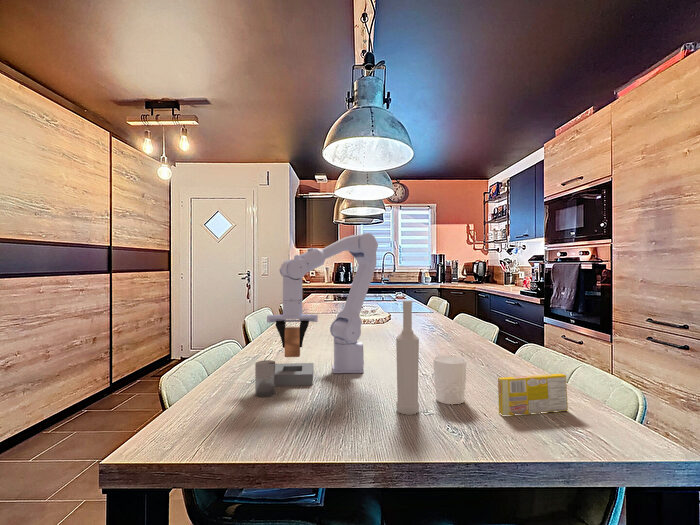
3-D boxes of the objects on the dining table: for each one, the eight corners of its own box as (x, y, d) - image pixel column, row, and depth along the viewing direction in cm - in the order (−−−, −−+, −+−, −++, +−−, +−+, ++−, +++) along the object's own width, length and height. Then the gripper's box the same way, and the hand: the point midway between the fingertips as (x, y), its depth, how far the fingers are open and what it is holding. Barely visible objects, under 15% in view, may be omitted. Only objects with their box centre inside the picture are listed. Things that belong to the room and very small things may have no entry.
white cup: (468, 397, 92) (468, 357, 92) (464, 408, 85) (464, 364, 85) (437, 392, 95) (436, 354, 95) (430, 402, 88) (430, 361, 88)
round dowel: (276, 390, 97) (276, 360, 97) (273, 397, 92) (273, 365, 92) (257, 390, 97) (257, 360, 97) (253, 397, 92) (253, 365, 92)
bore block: (313, 372, 113) (313, 362, 113) (312, 385, 101) (312, 374, 101) (274, 373, 112) (274, 363, 112) (268, 386, 100) (268, 375, 101)
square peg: (300, 353, 109) (300, 326, 109) (299, 356, 105) (299, 329, 105) (285, 353, 109) (286, 326, 109) (284, 357, 105) (284, 329, 105)
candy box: (561, 408, 85) (561, 372, 85) (568, 412, 83) (568, 375, 83) (497, 413, 82) (497, 376, 82) (503, 417, 80) (502, 379, 80)
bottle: (420, 408, 85) (420, 300, 85) (417, 416, 80) (417, 302, 80) (398, 405, 86) (398, 299, 87) (393, 413, 82) (393, 301, 82)
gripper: (265, 301, 103) (265, 350, 102) (317, 301, 104) (317, 349, 104) (269, 299, 110) (268, 344, 109) (317, 299, 111) (317, 344, 111)
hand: (292, 346), depth 107 cm, fingers closed on square peg, 4 cm apart
